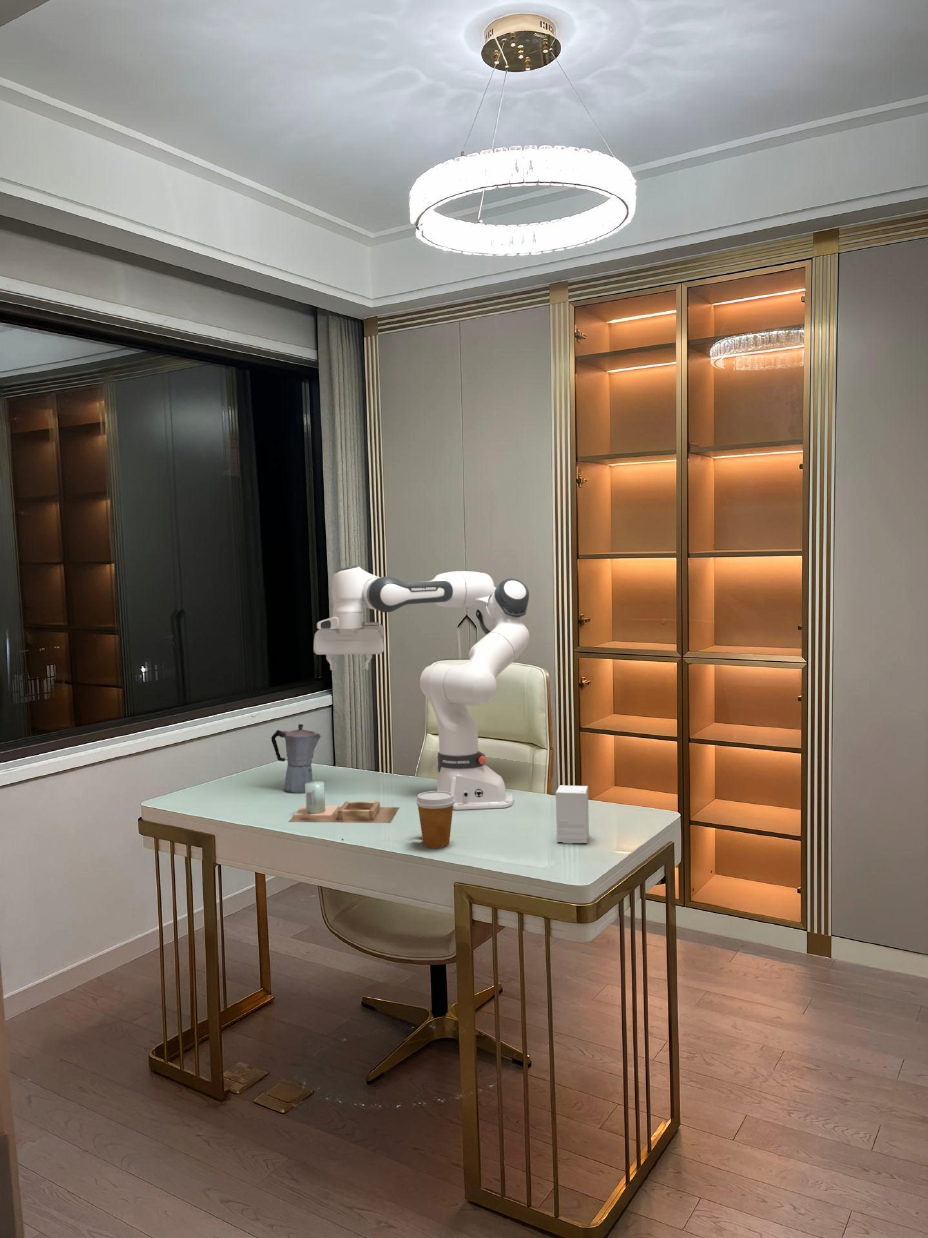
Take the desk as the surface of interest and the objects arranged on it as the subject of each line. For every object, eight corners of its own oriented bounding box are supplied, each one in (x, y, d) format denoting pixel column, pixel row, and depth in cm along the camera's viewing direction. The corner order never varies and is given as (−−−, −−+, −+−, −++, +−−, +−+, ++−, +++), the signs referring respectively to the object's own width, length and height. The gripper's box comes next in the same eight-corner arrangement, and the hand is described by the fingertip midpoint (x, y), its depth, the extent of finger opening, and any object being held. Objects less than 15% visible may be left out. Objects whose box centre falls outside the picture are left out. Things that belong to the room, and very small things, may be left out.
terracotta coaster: (339, 808, 258) (339, 805, 257) (330, 818, 248) (330, 815, 248) (303, 808, 258) (303, 805, 258) (293, 818, 248) (293, 815, 248)
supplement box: (589, 836, 232) (589, 785, 231) (586, 845, 225) (586, 793, 224) (559, 834, 234) (559, 784, 233) (555, 843, 227) (555, 791, 226)
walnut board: (399, 811, 258) (399, 798, 257) (390, 826, 243) (390, 813, 242) (303, 810, 260) (302, 797, 260) (288, 825, 245) (287, 812, 245)
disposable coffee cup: (459, 839, 231) (458, 791, 230) (452, 851, 222) (451, 801, 221) (421, 837, 233) (420, 790, 232) (412, 849, 223) (411, 799, 223)
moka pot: (320, 793, 278) (318, 726, 277) (268, 794, 278) (266, 727, 277) (325, 786, 288) (324, 721, 286) (275, 786, 288) (273, 721, 287)
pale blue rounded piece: (319, 816, 246) (318, 788, 245) (300, 817, 247) (299, 788, 246) (327, 808, 254) (326, 781, 253) (309, 808, 254) (308, 781, 254)
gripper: (385, 621, 274) (386, 668, 275) (316, 621, 276) (318, 668, 277) (381, 622, 268) (383, 670, 269) (311, 623, 270) (312, 671, 271)
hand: (349, 669), depth 273 cm, fingers open, 8 cm apart
